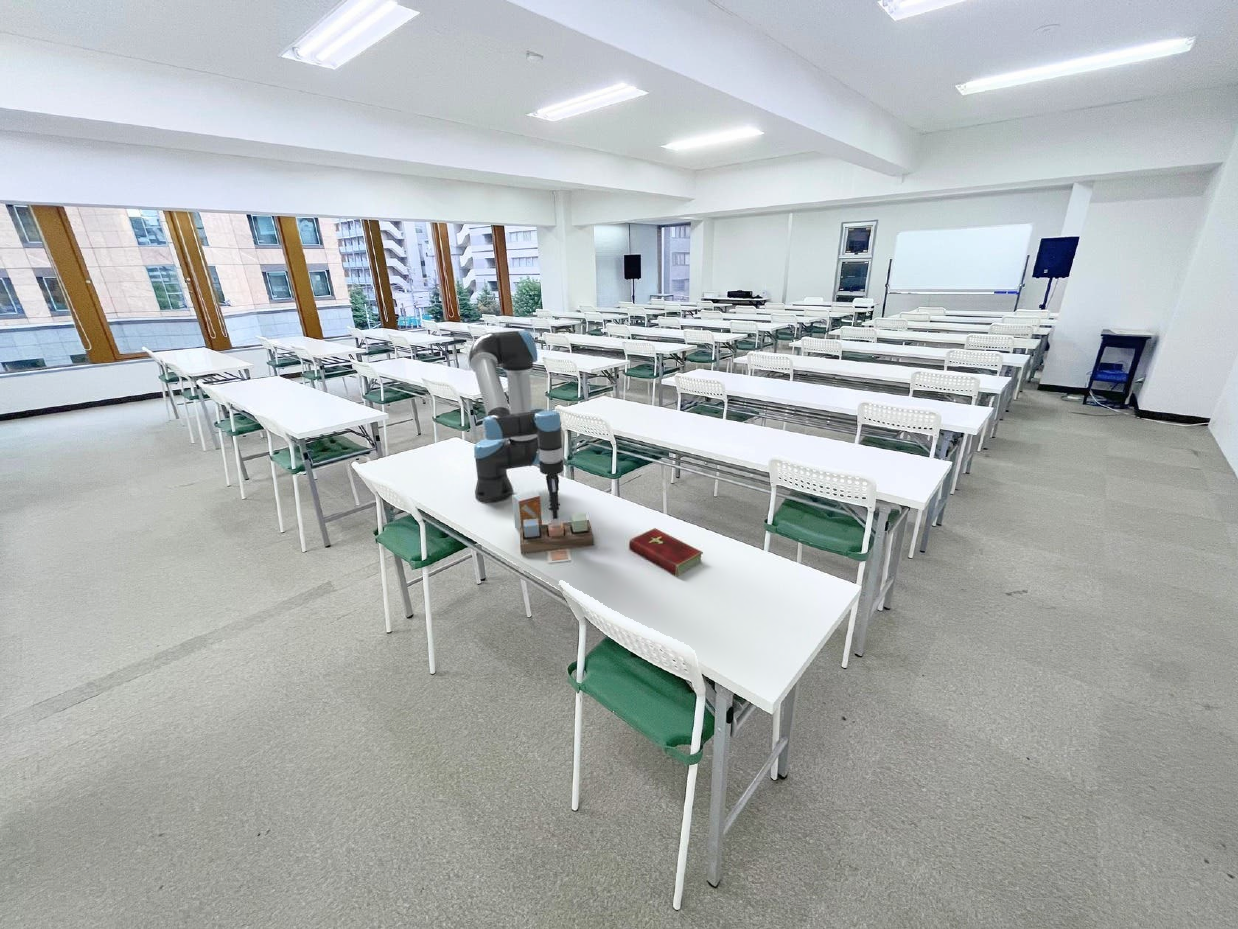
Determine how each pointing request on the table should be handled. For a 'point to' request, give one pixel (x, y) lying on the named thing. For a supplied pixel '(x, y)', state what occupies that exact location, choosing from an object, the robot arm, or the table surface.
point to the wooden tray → (556, 539)
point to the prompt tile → (559, 556)
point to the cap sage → (579, 522)
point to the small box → (526, 508)
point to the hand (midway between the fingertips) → (555, 525)
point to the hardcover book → (665, 551)
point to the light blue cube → (531, 527)
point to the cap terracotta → (555, 530)
